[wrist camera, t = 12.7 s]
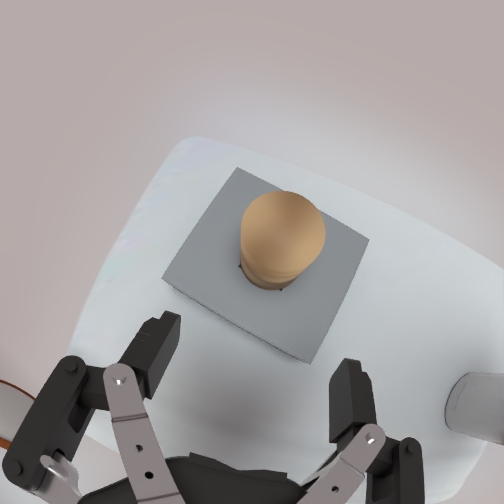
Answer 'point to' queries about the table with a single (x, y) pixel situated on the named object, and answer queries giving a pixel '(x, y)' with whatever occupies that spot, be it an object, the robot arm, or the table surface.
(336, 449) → the robot arm
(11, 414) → the magnifying glass
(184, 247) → the board
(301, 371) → the table surface
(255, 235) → the peg
